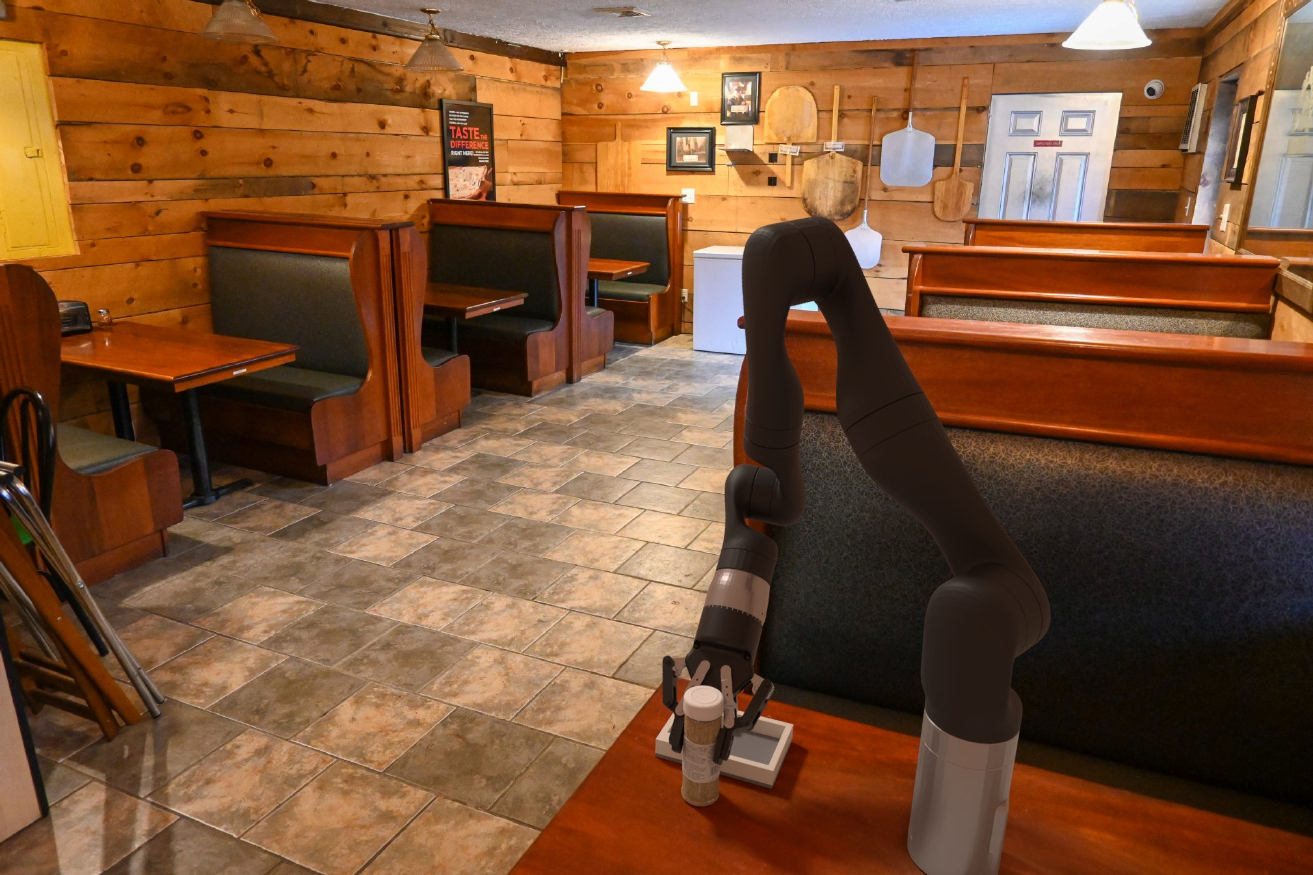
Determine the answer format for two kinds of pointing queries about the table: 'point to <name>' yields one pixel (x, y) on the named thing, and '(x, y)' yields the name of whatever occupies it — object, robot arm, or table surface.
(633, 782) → the table surface
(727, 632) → the robot arm
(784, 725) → the shallow tray
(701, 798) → the sprinkles bottle
